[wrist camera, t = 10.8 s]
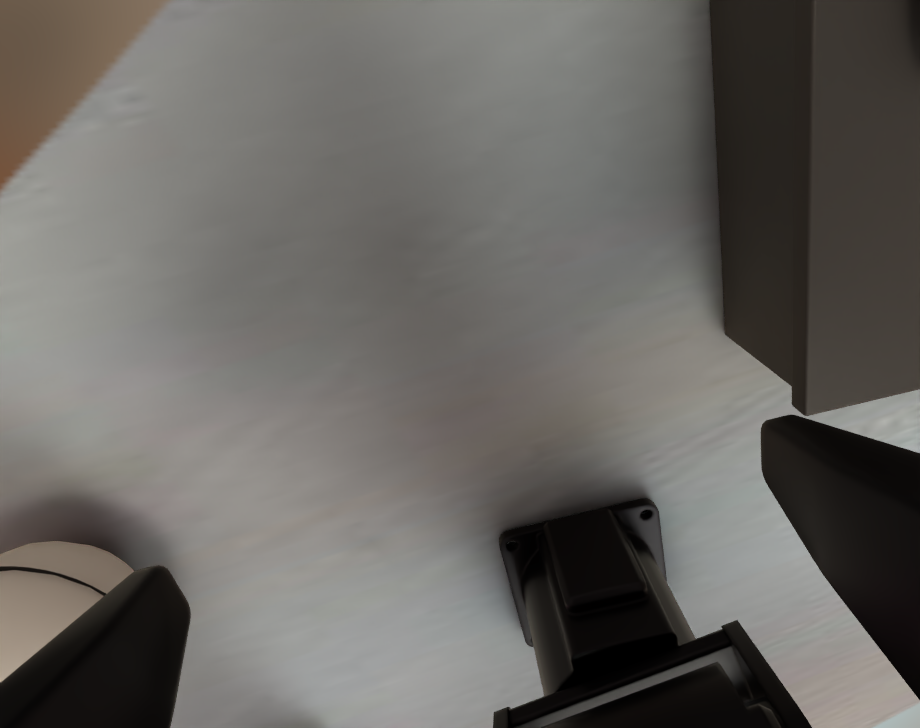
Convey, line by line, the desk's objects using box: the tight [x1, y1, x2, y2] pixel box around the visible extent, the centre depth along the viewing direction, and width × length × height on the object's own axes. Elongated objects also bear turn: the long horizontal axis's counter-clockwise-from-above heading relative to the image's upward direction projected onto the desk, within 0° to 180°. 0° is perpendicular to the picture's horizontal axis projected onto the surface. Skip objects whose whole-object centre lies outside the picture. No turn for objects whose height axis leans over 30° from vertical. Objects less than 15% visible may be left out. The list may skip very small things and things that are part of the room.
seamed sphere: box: [0, 541, 134, 683], centre depth 20 cm, size 10×7×7 cm
